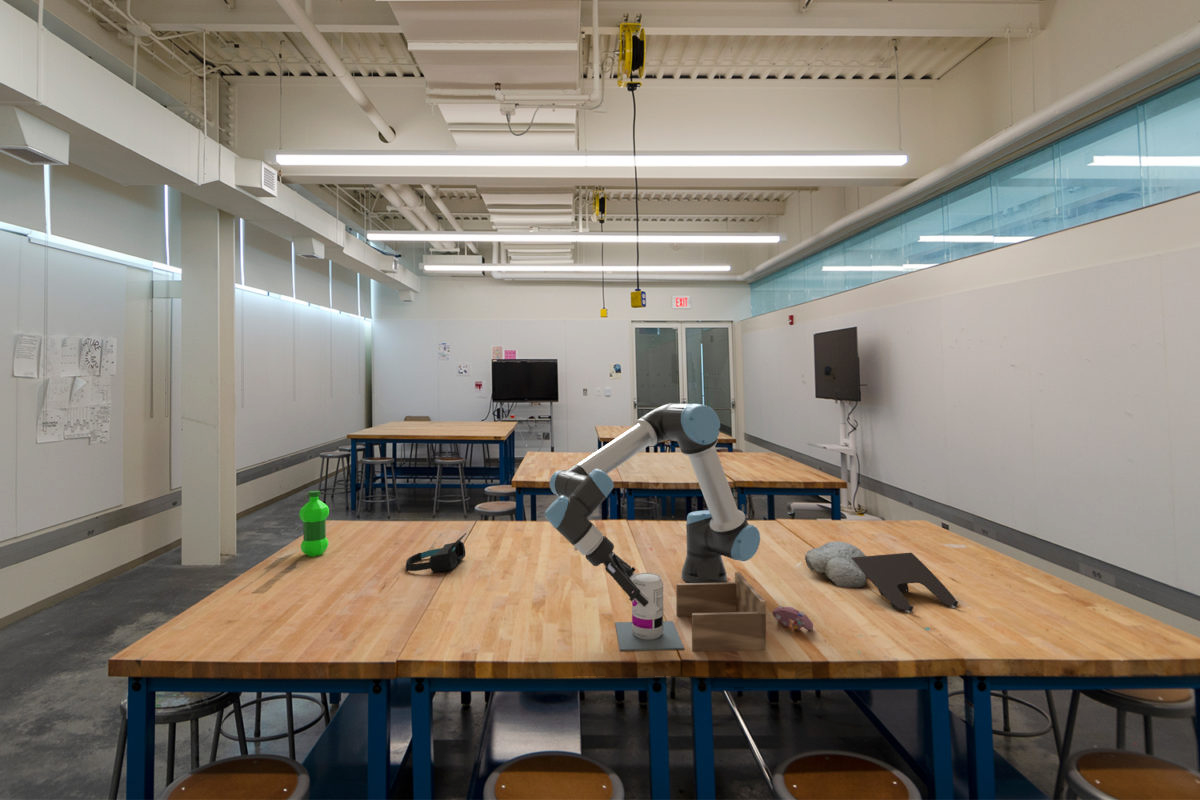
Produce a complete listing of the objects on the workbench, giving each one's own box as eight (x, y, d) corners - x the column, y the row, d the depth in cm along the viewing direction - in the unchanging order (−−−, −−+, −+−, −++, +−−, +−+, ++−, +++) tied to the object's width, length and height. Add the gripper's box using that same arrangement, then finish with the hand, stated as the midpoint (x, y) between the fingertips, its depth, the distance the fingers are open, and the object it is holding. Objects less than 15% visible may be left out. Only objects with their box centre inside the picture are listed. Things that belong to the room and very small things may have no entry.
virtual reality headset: (458, 571, 194) (453, 543, 194) (398, 580, 196) (394, 553, 196) (473, 555, 213) (469, 530, 213) (419, 563, 214) (415, 538, 214)
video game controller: (774, 628, 153) (768, 609, 150) (780, 616, 156) (775, 597, 153) (809, 639, 146) (804, 619, 144) (815, 627, 149) (810, 607, 146)
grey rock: (864, 592, 177) (864, 563, 177) (796, 579, 188) (796, 552, 188) (874, 567, 201) (875, 542, 200) (813, 557, 212) (814, 534, 212)
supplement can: (638, 642, 140) (638, 584, 140) (627, 629, 148) (627, 573, 148) (668, 638, 142) (668, 580, 142) (656, 625, 150) (656, 570, 150)
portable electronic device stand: (891, 631, 161) (901, 608, 157) (844, 573, 181) (853, 552, 177) (956, 623, 166) (968, 601, 162) (904, 568, 186) (913, 547, 182)
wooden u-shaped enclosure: (676, 614, 159) (676, 573, 158) (739, 613, 159) (739, 571, 159) (693, 651, 136) (693, 603, 136) (765, 649, 137) (765, 601, 137)
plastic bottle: (293, 557, 215) (293, 493, 214) (315, 549, 225) (314, 488, 225) (314, 559, 212) (314, 494, 212) (335, 551, 222) (334, 489, 222)
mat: (615, 623, 153) (615, 622, 153) (672, 622, 153) (672, 620, 153) (619, 650, 137) (619, 649, 137) (684, 649, 137) (684, 647, 137)
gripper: (583, 542, 156) (635, 594, 157) (585, 571, 131) (647, 632, 132) (601, 523, 156) (654, 575, 157) (607, 548, 131) (669, 610, 132)
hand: (651, 601), depth 145 cm, fingers open, 13 cm apart
